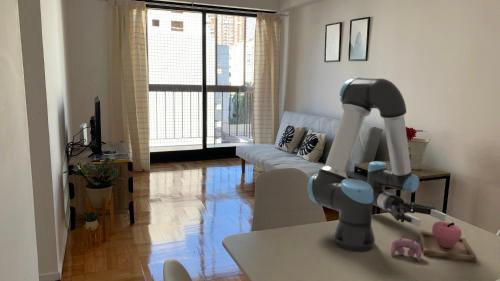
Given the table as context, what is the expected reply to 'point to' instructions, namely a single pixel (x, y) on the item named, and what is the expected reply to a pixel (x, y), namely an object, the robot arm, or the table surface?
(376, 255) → the table surface
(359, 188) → the robot arm
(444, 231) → the apple
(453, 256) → the walnut tray
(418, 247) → the video game controller
